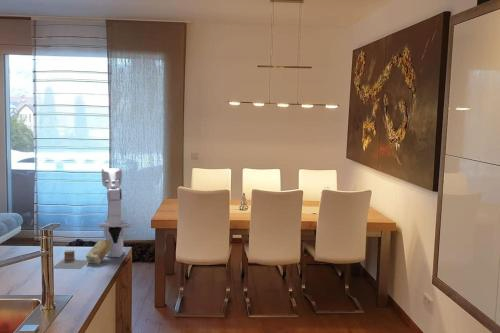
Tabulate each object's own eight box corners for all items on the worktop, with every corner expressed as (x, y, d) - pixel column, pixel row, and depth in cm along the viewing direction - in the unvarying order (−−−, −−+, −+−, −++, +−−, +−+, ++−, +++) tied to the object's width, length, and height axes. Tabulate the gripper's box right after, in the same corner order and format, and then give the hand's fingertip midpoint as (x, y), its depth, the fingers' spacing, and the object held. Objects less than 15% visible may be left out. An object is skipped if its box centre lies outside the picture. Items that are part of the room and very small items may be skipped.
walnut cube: (65, 258, 231) (65, 250, 231) (74, 258, 232) (74, 250, 232) (64, 260, 227) (64, 252, 227) (73, 260, 228) (73, 251, 228)
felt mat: (62, 260, 229) (62, 259, 229) (89, 260, 229) (89, 260, 228) (51, 268, 217) (51, 267, 217) (80, 269, 217) (80, 268, 217)
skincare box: (85, 256, 223) (98, 238, 233) (87, 262, 225) (101, 245, 235) (97, 257, 221) (110, 240, 231) (99, 264, 223) (112, 247, 233)
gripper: (96, 216, 218) (97, 245, 219) (128, 216, 217) (128, 245, 219) (101, 212, 225) (102, 240, 226) (132, 213, 224) (132, 241, 226)
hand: (115, 242), depth 223 cm, fingers closed
